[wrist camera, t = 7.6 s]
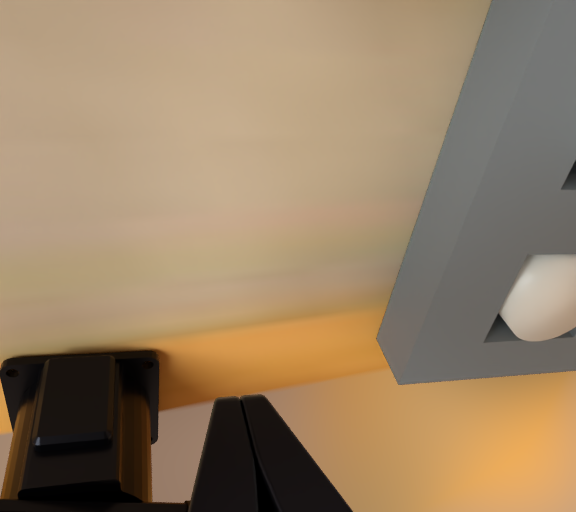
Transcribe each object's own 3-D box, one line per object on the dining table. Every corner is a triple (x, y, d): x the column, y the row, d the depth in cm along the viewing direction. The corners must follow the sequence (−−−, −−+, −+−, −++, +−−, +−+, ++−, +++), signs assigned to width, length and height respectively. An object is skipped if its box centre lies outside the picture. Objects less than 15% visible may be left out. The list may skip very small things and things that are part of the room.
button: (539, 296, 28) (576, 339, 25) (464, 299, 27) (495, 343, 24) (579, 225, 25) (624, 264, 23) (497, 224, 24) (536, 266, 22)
